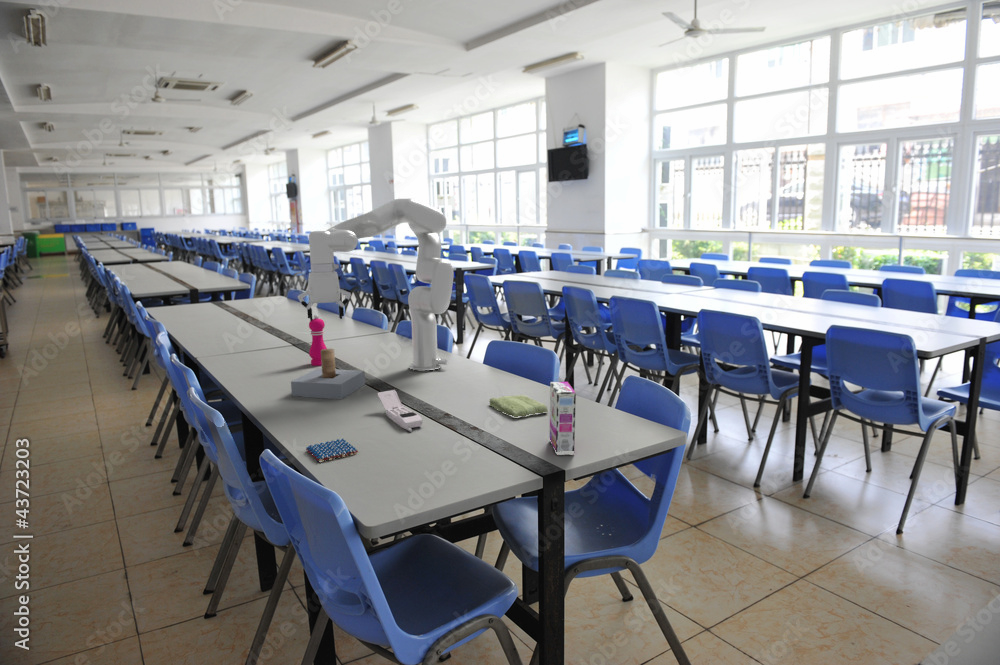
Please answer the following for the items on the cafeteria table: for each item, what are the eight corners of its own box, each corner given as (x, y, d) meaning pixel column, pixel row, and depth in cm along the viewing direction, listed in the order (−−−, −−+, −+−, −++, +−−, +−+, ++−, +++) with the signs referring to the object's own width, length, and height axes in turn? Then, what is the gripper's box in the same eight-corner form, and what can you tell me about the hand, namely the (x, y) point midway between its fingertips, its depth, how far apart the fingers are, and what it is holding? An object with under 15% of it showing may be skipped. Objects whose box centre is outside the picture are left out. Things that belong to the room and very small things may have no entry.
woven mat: (359, 456, 166) (359, 448, 166) (318, 465, 161) (318, 457, 160) (344, 444, 175) (344, 436, 174) (305, 452, 169) (304, 445, 169)
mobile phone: (394, 389, 204) (426, 409, 183) (395, 407, 206) (427, 429, 184) (375, 392, 202) (406, 413, 180) (377, 410, 203) (407, 434, 181)
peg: (338, 388, 226) (336, 349, 224) (332, 392, 222) (330, 351, 219) (327, 388, 227) (324, 348, 224) (320, 391, 223) (318, 351, 220)
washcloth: (522, 400, 213) (522, 390, 212) (550, 415, 197) (550, 405, 196) (486, 405, 207) (485, 396, 206) (512, 421, 191) (512, 411, 191)
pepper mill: (323, 366, 258) (320, 316, 254) (306, 365, 259) (303, 315, 255) (331, 362, 265) (328, 313, 261) (315, 361, 266) (312, 312, 262)
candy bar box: (575, 455, 164) (576, 392, 161) (555, 456, 164) (556, 393, 161) (567, 440, 175) (568, 380, 172) (548, 440, 175) (549, 381, 171)
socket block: (365, 384, 231) (364, 370, 230) (341, 399, 214) (340, 384, 213) (318, 381, 235) (317, 368, 234) (291, 396, 218) (290, 381, 217)
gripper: (348, 266, 223) (351, 316, 227) (295, 268, 218) (299, 319, 222) (350, 268, 216) (353, 319, 220) (295, 270, 211) (299, 323, 215)
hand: (326, 319), depth 221 cm, fingers open, 9 cm apart
